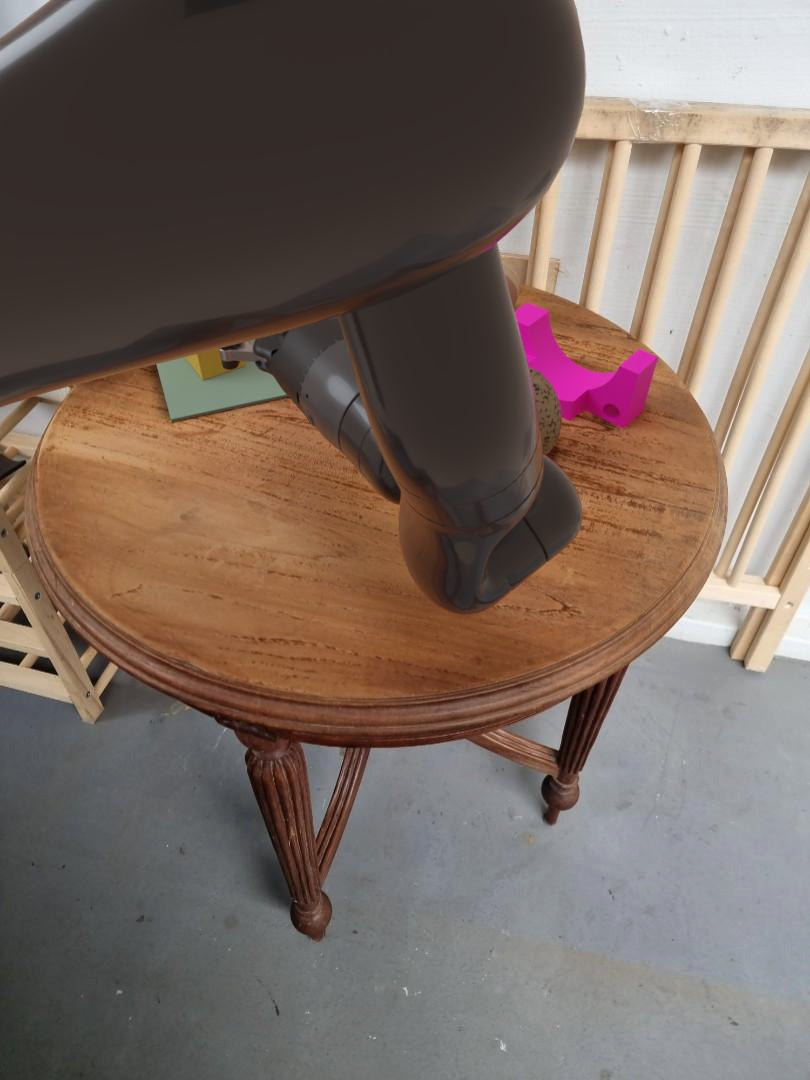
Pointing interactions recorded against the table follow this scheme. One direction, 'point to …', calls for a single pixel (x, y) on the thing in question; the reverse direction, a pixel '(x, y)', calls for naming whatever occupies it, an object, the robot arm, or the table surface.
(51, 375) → the robot arm
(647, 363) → the toy block
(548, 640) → the table surface
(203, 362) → the yellow block
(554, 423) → the decorative egg
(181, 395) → the mat
